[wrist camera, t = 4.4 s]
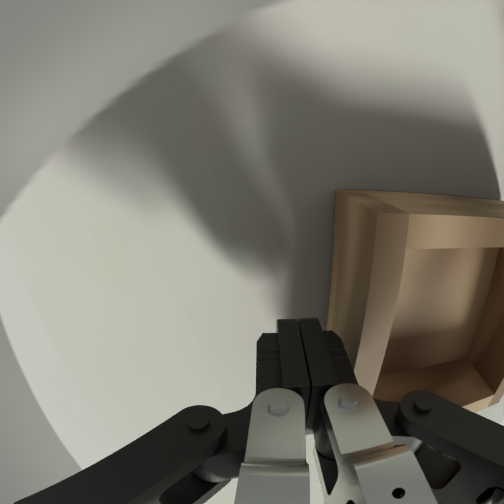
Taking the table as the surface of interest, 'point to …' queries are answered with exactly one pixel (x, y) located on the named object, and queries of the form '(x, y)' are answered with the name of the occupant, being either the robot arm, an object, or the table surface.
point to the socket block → (420, 294)
